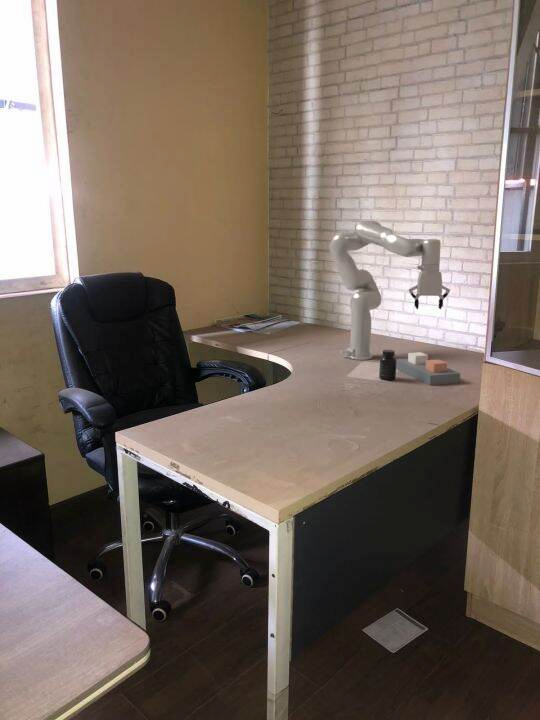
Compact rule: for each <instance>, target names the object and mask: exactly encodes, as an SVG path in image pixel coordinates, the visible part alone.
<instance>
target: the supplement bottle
mask: <svg viewBox="0 0 540 720" xmlns="http://www.w3.org/2000/svg"><path fill="white" fill-rule="evenodd" d="M395 354H396V353H395V350H393V349H383V350H382V356H380V358H379V370H378V371H379V374H378V377H379V380H381V381H385V380H386V381H388V382H389V381H390V382H391V381H394V380H396V377H397V369H396V364H397V358H396V357H395ZM386 381H385V382H386Z"/></svg>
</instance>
